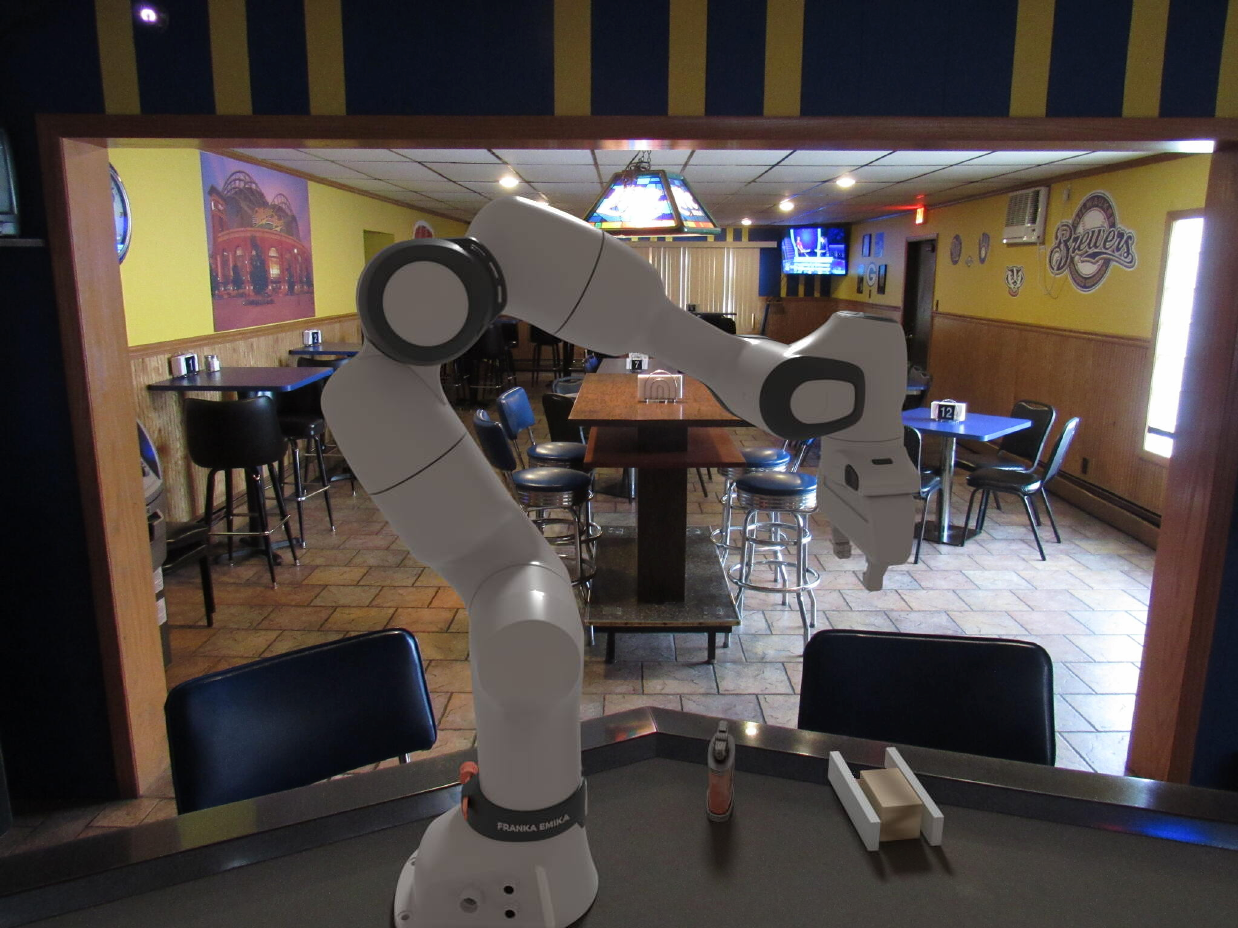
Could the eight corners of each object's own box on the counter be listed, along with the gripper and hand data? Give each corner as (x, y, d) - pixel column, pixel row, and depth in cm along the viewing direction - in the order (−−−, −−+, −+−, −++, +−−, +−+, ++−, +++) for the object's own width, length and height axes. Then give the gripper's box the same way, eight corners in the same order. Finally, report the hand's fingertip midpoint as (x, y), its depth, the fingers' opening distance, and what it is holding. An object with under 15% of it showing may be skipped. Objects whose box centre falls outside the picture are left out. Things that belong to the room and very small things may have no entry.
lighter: (730, 823, 105) (733, 753, 102) (703, 819, 105) (705, 750, 103) (735, 782, 112) (737, 716, 110) (710, 779, 113) (711, 714, 110)
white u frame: (868, 850, 100) (870, 822, 99) (828, 777, 113) (829, 751, 112) (940, 844, 101) (944, 816, 100) (892, 772, 114) (894, 746, 113)
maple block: (879, 842, 102) (882, 806, 100) (857, 804, 108) (860, 770, 107) (919, 838, 102) (922, 803, 101) (894, 800, 109) (897, 767, 107)
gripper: (804, 437, 104) (802, 541, 107) (868, 485, 84) (862, 612, 88) (854, 433, 104) (850, 538, 108) (929, 481, 84) (920, 607, 88)
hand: (856, 572), depth 98 cm, fingers open, 8 cm apart
